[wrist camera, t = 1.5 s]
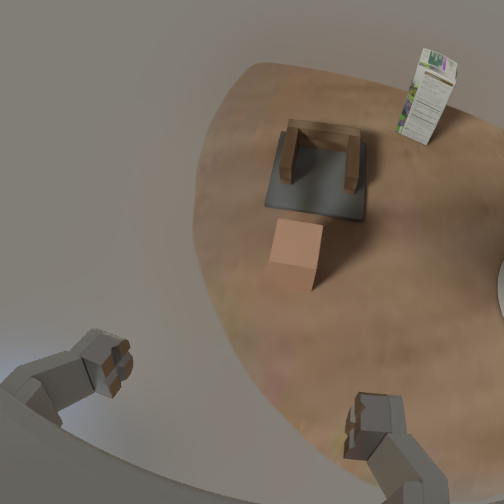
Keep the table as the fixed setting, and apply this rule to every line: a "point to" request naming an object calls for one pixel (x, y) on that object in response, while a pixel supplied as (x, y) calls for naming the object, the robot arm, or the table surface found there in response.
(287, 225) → the block
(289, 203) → the stop cradle
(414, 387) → the table surface
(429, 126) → the syrup box
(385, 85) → the table surface
